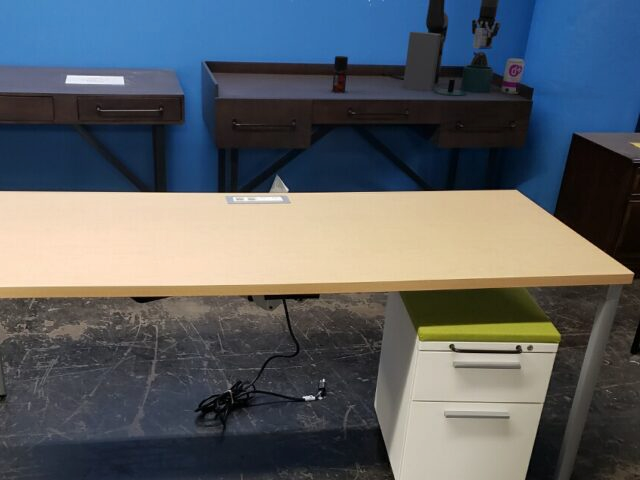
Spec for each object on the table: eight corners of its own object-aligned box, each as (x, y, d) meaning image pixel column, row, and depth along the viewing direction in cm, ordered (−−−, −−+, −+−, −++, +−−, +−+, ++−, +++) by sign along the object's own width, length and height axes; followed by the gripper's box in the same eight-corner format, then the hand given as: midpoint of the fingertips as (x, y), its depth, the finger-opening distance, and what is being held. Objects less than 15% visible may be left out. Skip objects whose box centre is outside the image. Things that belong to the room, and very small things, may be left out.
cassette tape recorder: (434, 90, 374) (442, 33, 361) (430, 92, 369) (438, 35, 356) (406, 87, 379) (413, 31, 366) (402, 88, 374) (409, 32, 362)
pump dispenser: (477, 81, 399) (482, 50, 391) (490, 85, 391) (496, 52, 383) (461, 82, 395) (466, 50, 388) (474, 86, 387) (479, 53, 380)
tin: (454, 90, 375) (458, 66, 369) (470, 87, 383) (474, 64, 378) (479, 95, 367) (483, 70, 361) (494, 92, 375) (499, 67, 370)
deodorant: (346, 91, 364) (349, 56, 356) (343, 93, 359) (346, 58, 351) (333, 89, 366) (336, 55, 358) (330, 92, 361) (333, 57, 353)
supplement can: (519, 94, 371) (525, 61, 363) (501, 93, 372) (507, 60, 365) (517, 91, 378) (524, 58, 370) (500, 90, 379) (506, 57, 372)
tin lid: (428, 93, 366) (430, 78, 363) (445, 90, 375) (447, 75, 372) (454, 98, 357) (457, 83, 354) (471, 95, 366) (474, 80, 363)
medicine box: (478, 49, 362) (482, 29, 357) (472, 48, 365) (475, 27, 361) (491, 48, 365) (495, 28, 361) (485, 47, 368) (488, 27, 364)
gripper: (507, 6, 354) (500, 46, 362) (479, 3, 362) (473, 42, 371) (498, 7, 349) (491, 47, 358) (471, 4, 358) (464, 44, 366)
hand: (482, 45), depth 364 cm, fingers closed on medicine box, 5 cm apart
